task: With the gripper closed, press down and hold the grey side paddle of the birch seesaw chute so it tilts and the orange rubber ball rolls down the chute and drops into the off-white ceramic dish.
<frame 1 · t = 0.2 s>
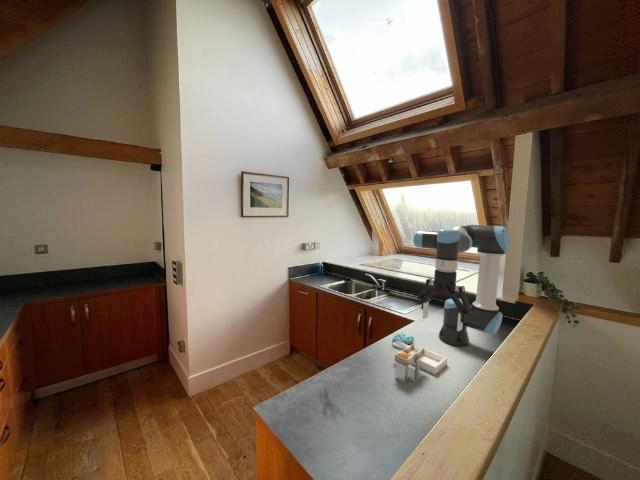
hand: (441, 323, 102), 28 cm above the worktop, fingers open, 13 cm apart
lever: (401, 350, 117), point 9 cm above the worktop, hinge at 0.0°, touching ball
ball: (403, 356, 111), point 10 cm above the worktop, touching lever
toy: (402, 343, 143), on the worktop
dish: (428, 364, 123), on the worktop
fulcrum: (408, 373, 115), on the worktop
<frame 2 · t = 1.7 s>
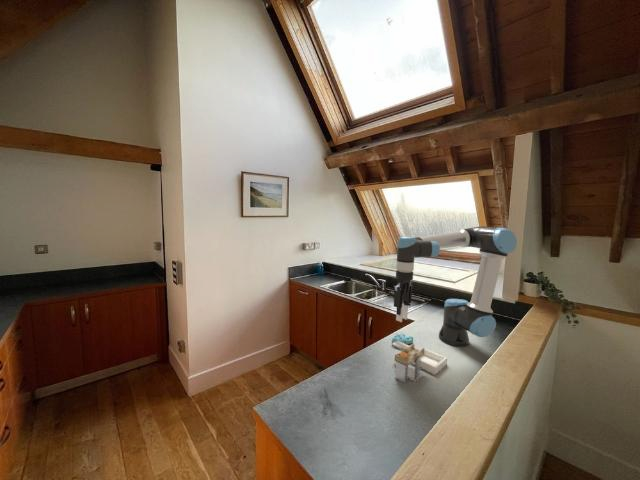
hand: (401, 319, 122), 21 cm above the worktop, fingers open, 4 cm apart
nothing on the worktop moved.
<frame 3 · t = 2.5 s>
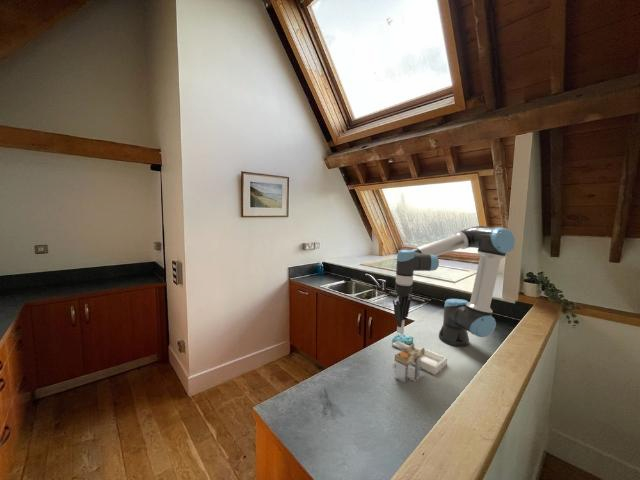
hand: (400, 332, 123), 14 cm above the worktop, fingers closed
nothing on the worktop moved.
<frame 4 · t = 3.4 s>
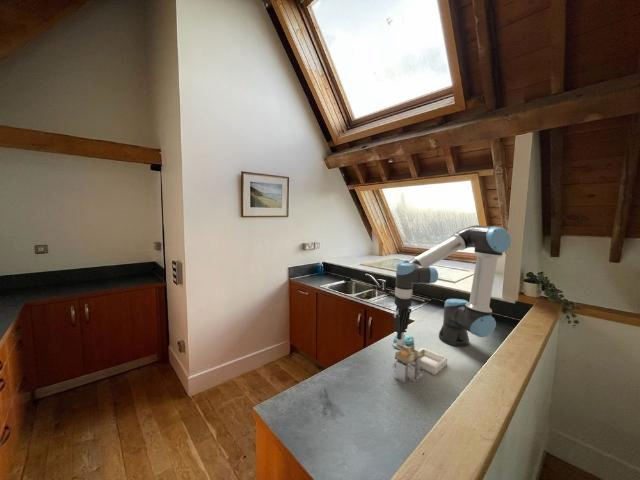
hand: (399, 344, 124), 8 cm above the worktop, fingers closed
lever: (402, 350, 117), point 9 cm above the worktop, hinge at -6.6°, touching ball, gripper
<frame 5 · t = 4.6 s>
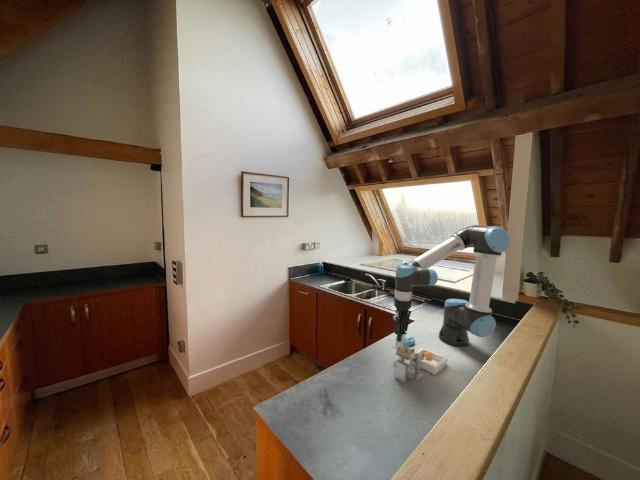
hand: (399, 347, 124), 7 cm above the worktop, fingers closed
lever: (402, 350, 118), point 9 cm above the worktop, hinge at -20.2°, touching gripper
ball: (427, 355, 127), point 2 cm above the worktop, tilted 151°, touching dish
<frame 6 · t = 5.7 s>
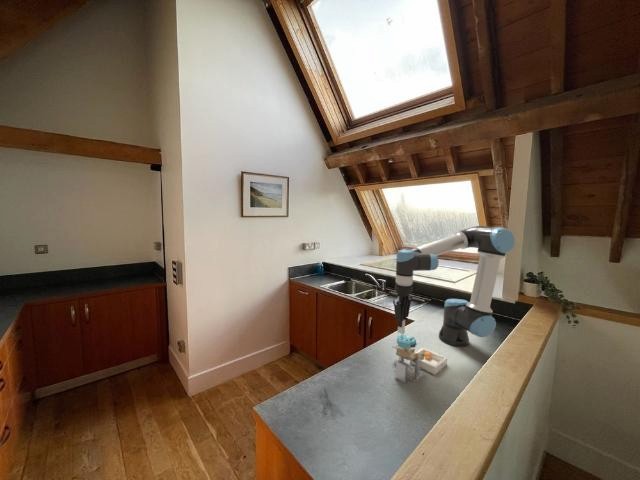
hand: (401, 332, 123), 14 cm above the worktop, fingers closed
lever: (402, 350, 118), point 9 cm above the worktop, hinge at -20.2°
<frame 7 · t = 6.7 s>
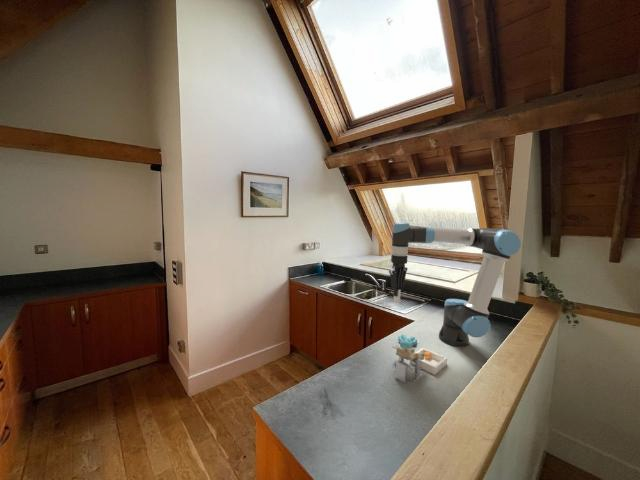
hand: (396, 302, 129), 26 cm above the worktop, fingers closed
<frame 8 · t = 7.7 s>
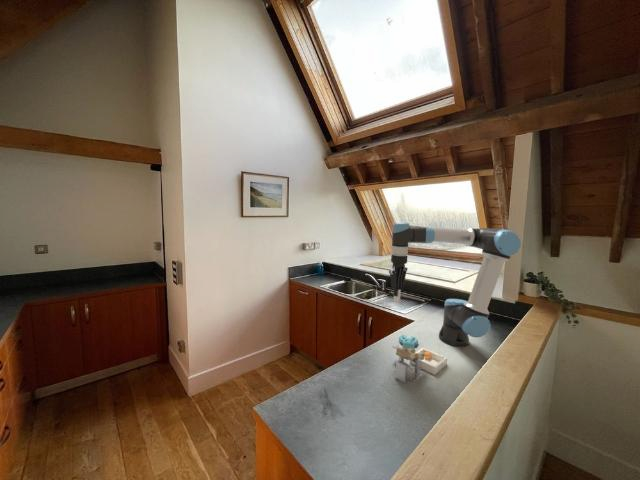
hand: (396, 301, 129), 26 cm above the worktop, fingers closed
at the end: ball inside the target area on the dish (3.8 cm from its centre), point 2.2 cm above the dish's base; ball touching dish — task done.
